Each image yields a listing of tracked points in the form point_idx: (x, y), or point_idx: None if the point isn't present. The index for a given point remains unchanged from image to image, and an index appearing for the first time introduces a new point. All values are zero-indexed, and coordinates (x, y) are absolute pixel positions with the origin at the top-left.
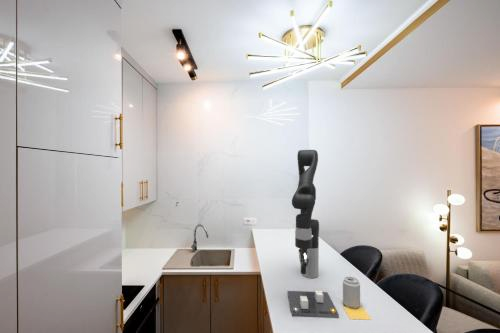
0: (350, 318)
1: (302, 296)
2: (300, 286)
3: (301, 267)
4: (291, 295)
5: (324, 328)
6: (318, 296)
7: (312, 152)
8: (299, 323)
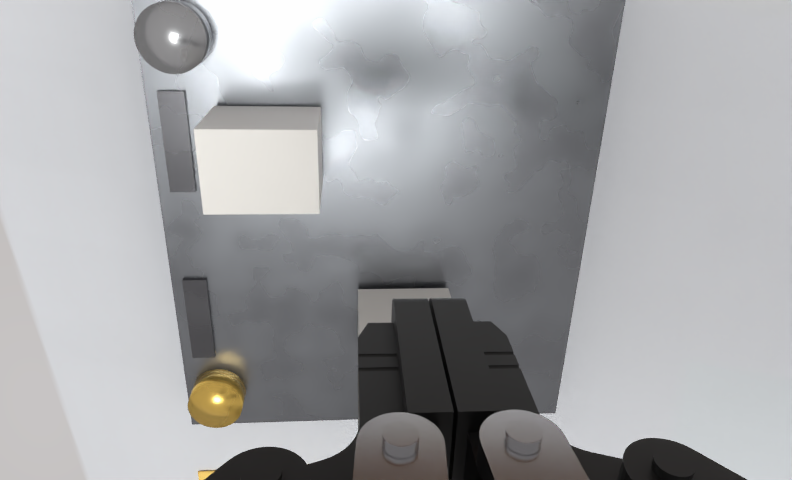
0: (203, 476)
1: (307, 162)
2: (748, 174)
3: (406, 391)
4: (512, 27)
5: (18, 266)
6: None
7: None
8: (28, 43)
